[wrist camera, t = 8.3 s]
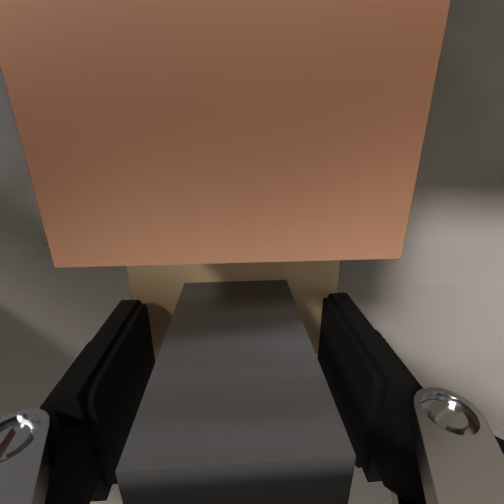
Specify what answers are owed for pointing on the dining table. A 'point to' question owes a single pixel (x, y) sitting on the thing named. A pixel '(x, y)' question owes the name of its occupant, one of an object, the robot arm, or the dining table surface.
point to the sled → (226, 207)
